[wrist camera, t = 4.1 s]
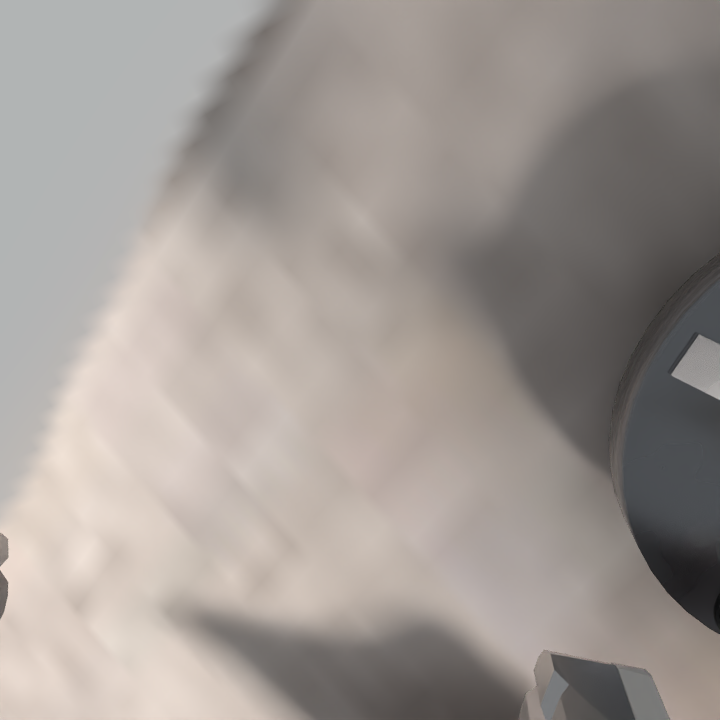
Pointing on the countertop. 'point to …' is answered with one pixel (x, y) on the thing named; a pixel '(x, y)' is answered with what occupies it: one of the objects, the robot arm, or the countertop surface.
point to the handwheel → (675, 445)
